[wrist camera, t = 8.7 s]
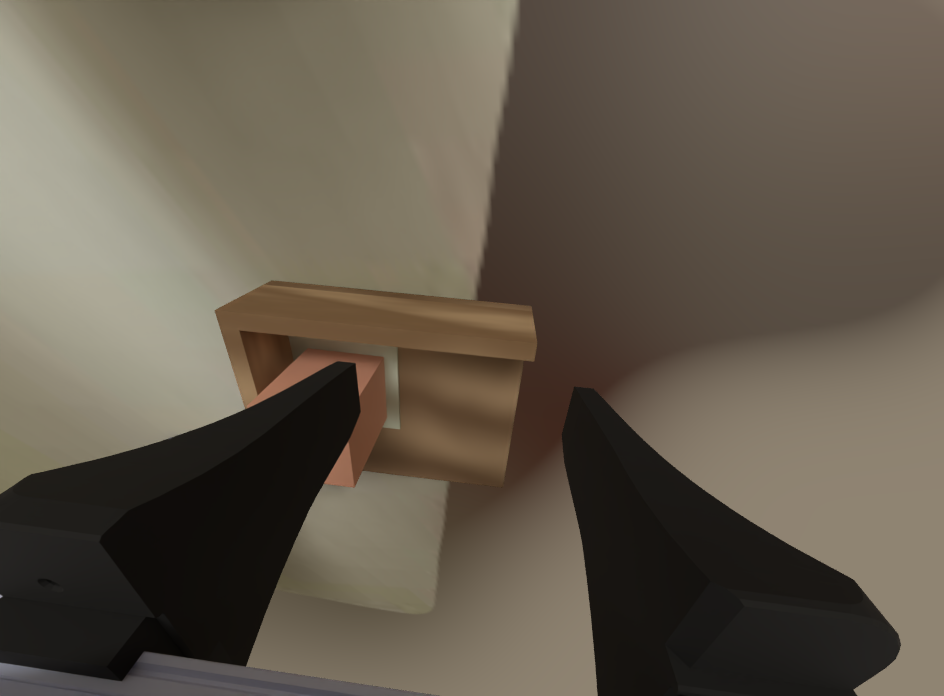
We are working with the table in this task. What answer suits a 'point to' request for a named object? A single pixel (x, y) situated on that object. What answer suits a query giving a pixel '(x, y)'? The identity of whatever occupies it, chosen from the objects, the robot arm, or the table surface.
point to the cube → (370, 404)
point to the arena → (400, 367)
